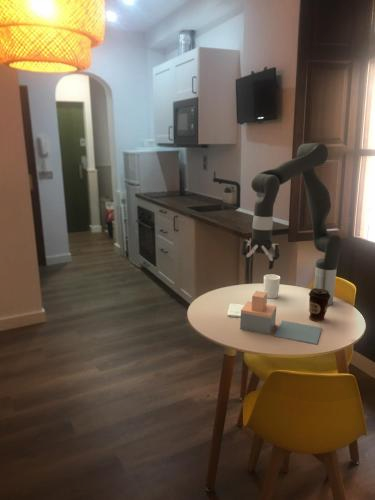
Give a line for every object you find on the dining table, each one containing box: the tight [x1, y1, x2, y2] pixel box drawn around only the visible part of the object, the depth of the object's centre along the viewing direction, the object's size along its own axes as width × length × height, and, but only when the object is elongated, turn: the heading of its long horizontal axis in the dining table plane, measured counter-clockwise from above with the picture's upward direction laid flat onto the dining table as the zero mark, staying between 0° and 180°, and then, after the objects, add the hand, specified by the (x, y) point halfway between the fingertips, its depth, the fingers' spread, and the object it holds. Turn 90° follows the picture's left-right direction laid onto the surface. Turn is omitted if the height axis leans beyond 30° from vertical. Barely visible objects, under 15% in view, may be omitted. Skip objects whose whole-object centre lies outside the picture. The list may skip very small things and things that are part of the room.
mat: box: [273, 320, 322, 346], centre depth 164 cm, size 15×16×1 cm
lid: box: [241, 290, 277, 318], centre depth 166 cm, size 10×12×8 cm
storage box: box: [239, 309, 277, 336], centre depth 167 cm, size 10×12×7 cm
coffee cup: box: [308, 287, 330, 323], centre depth 174 cm, size 9×8×13 cm
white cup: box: [263, 273, 281, 300], centre depth 200 cm, size 8×8×10 cm
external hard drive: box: [226, 303, 245, 319], centre depth 183 cm, size 2×8×12 cm
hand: (259, 267), depth 162 cm, fingers open, 8 cm apart
